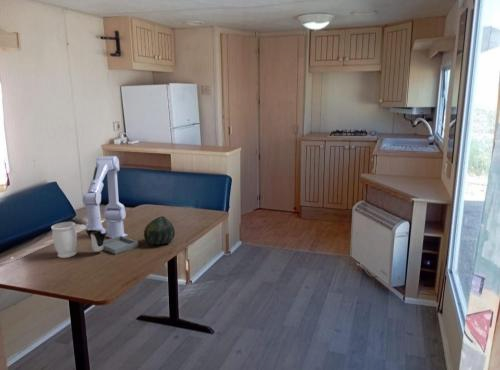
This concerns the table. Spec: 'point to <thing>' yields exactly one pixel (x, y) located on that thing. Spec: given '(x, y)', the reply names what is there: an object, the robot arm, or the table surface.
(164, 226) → the squash
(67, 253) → the jar
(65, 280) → the table surface
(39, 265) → the table surface
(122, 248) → the tray
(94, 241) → the cup
